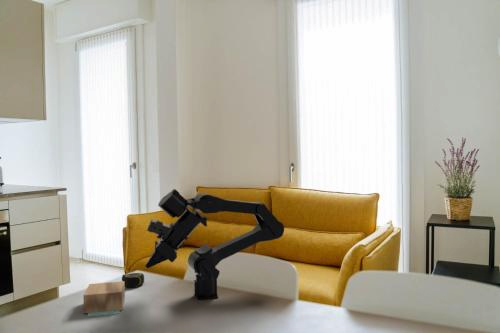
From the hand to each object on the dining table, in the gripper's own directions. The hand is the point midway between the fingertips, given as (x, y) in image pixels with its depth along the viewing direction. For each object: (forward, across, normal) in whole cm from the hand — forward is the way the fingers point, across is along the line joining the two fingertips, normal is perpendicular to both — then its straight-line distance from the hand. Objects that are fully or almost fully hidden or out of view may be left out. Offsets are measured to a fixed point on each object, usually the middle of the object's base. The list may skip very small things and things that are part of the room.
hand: (146, 267), depth 119 cm
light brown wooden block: (+10, 0, +1) cm, 10 cm away
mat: (+15, 0, -1) cm, 15 cm away
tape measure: (+12, -18, +4) cm, 22 cm away
